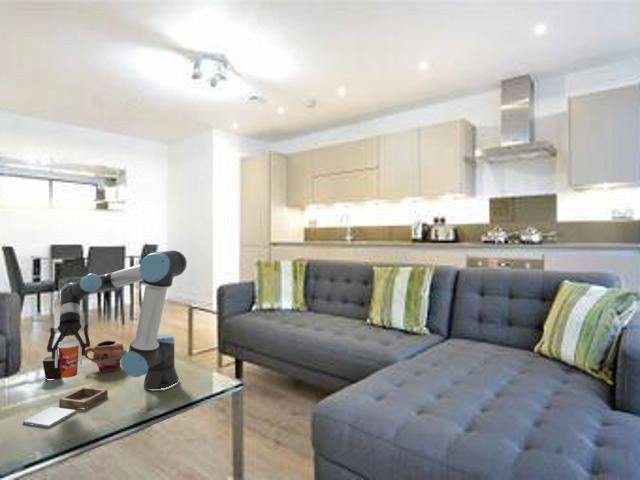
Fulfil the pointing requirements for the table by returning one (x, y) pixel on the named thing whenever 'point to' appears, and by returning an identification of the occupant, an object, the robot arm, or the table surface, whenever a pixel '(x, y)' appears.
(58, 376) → the coffee mug
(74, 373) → the paper cup
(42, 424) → the slate pad
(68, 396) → the walnut collar
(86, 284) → the robot arm
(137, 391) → the table surface
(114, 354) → the decorative planter
